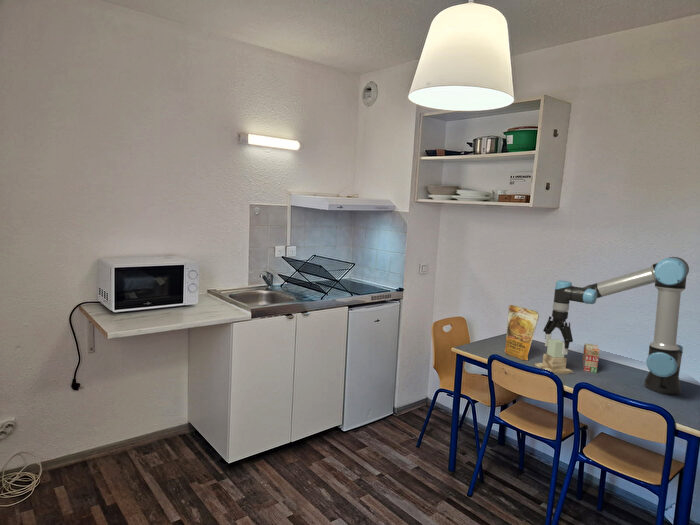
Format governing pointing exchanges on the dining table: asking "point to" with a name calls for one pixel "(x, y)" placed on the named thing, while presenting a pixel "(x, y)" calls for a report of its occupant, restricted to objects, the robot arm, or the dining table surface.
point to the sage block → (555, 348)
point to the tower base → (554, 365)
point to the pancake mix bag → (520, 331)
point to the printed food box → (590, 357)
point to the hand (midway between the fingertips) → (555, 350)
